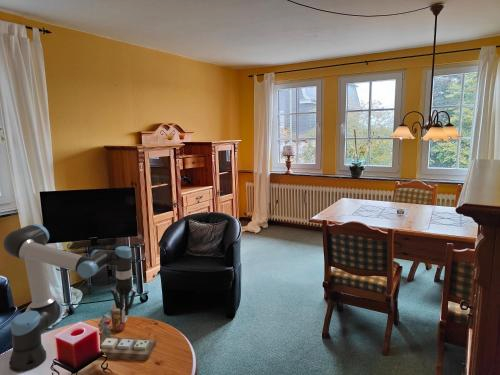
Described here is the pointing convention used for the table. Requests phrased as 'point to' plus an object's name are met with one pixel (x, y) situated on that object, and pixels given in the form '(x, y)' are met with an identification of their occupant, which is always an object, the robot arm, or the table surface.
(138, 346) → the die
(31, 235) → the robot arm
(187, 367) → the table surface
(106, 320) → the figurine
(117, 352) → the board
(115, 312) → the smoothie
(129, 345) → the die
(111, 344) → the die
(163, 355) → the table surface
